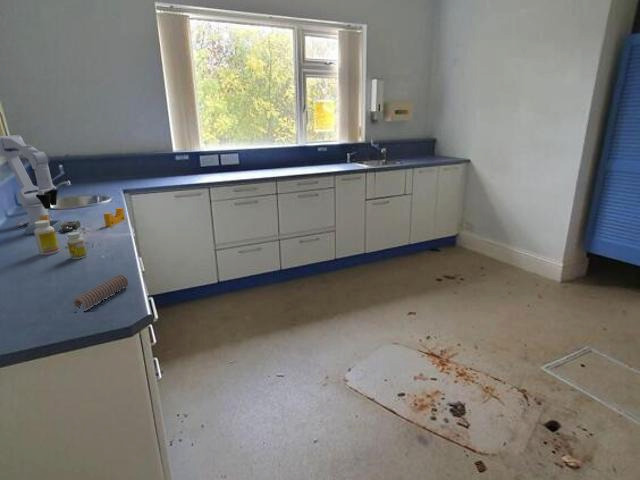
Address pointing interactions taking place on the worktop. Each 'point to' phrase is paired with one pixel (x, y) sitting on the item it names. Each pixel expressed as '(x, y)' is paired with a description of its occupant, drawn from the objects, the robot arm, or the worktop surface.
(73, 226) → the block
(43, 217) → the orange rectangular block
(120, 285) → the coil
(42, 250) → the supplement bottle
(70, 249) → the supplement bottle
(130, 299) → the worktop surface
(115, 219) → the pipe clamp
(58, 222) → the tray
